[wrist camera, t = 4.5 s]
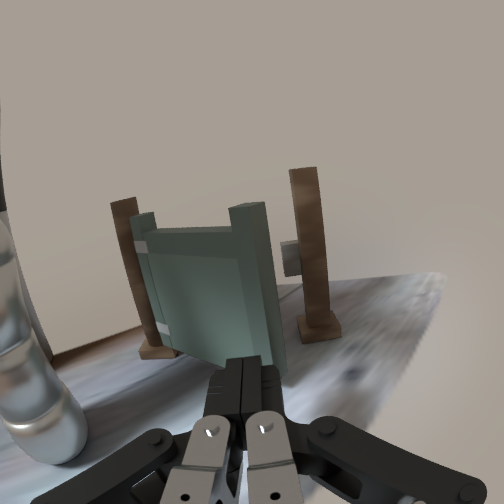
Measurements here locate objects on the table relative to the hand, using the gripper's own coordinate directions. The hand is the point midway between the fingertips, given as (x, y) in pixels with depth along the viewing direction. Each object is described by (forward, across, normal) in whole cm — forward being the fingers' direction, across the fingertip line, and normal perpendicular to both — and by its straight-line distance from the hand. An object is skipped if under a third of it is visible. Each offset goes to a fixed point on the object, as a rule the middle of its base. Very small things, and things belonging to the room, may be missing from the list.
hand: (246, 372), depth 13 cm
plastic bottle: (0, +15, +7) cm, 17 cm away
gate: (+9, +4, +6) cm, 11 cm away
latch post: (+14, -6, +7) cm, 17 cm away
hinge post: (+14, +10, +7) cm, 18 cm away
